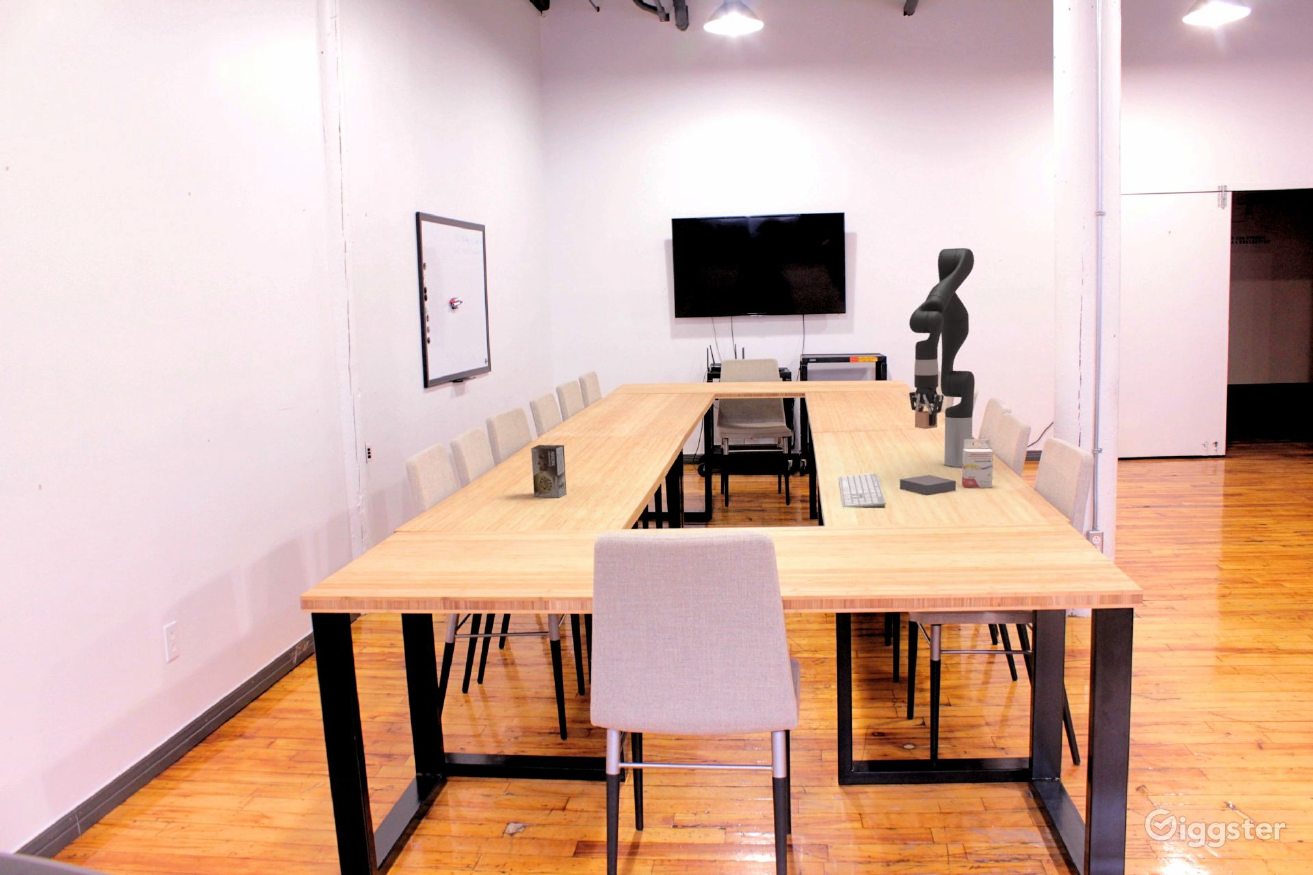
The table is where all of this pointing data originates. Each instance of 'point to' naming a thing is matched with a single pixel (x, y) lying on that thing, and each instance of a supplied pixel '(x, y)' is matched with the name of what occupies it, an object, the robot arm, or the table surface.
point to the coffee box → (548, 470)
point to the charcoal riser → (927, 484)
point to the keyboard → (861, 491)
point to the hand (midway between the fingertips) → (926, 424)
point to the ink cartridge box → (977, 464)
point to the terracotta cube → (923, 420)
